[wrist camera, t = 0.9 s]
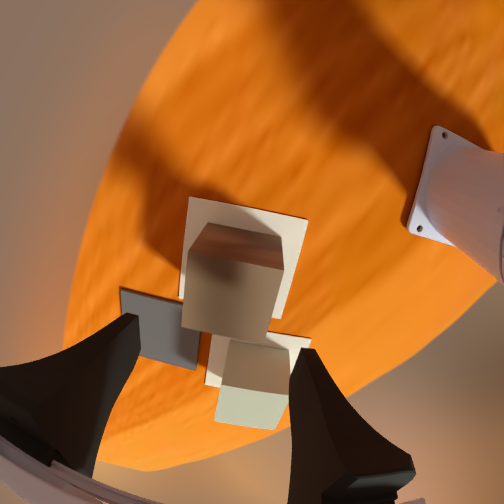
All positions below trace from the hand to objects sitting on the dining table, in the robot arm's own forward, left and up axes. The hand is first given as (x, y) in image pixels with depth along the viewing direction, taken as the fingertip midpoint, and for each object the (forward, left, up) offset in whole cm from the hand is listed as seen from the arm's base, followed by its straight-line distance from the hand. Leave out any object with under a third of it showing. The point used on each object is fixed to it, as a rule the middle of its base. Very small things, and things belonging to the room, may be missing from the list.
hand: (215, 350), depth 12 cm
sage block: (-3, +9, -9) cm, 13 cm away
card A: (0, 0, -9) cm, 9 cm away
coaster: (+5, +8, -9) cm, 13 cm away
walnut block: (0, 0, -9) cm, 9 cm away
